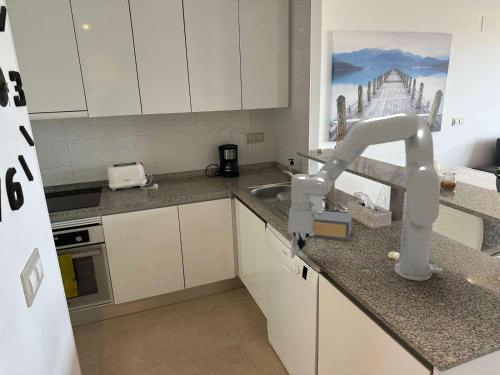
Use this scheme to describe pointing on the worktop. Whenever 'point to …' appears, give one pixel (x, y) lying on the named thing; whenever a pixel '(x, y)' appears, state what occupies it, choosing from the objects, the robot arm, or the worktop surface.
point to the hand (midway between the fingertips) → (301, 247)
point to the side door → (295, 246)
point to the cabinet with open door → (332, 225)
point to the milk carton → (317, 202)
